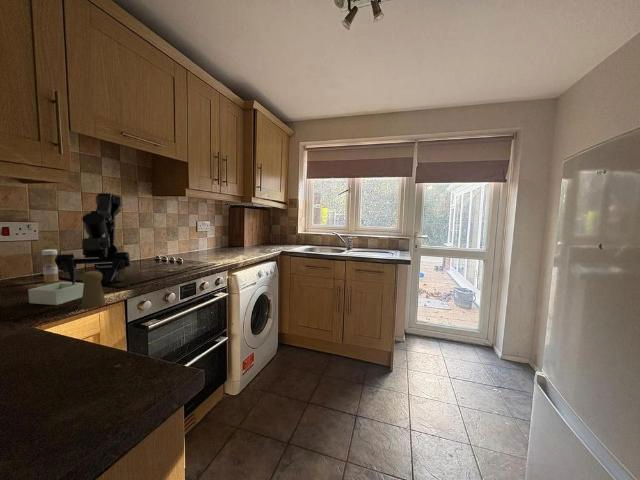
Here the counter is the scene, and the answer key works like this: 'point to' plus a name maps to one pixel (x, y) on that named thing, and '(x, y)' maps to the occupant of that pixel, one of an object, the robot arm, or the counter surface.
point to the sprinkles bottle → (50, 266)
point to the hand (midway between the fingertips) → (92, 282)
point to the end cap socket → (56, 293)
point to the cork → (92, 290)
